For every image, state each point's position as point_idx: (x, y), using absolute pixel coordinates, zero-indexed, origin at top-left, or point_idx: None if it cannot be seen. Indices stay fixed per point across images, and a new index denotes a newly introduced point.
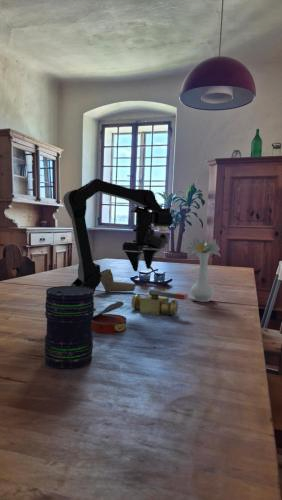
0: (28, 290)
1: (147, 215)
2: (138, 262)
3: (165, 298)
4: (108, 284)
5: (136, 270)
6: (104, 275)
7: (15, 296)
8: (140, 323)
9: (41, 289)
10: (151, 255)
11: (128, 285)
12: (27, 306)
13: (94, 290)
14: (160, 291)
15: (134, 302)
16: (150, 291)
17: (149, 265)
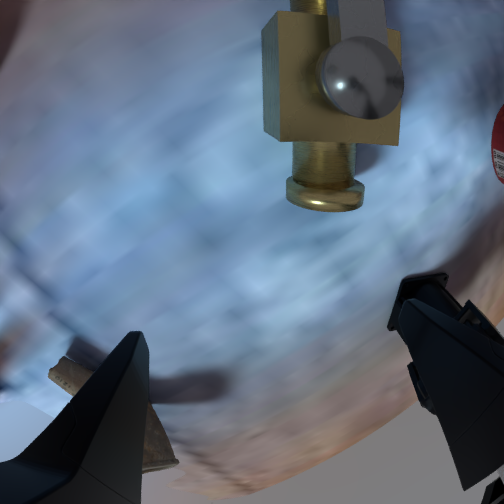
0: (282, 464)
1: None
2: (468, 343)
3: (326, 16)
4: (153, 420)
5: (419, 302)
6: (169, 455)
7: (343, 442)
8: (464, 79)
9: (256, 464)
10: (88, 471)
11: (80, 383)
12: (412, 385)
13: (474, 306)
14: (375, 34)
15: (357, 183)
16: (399, 97)
17: (135, 358)
